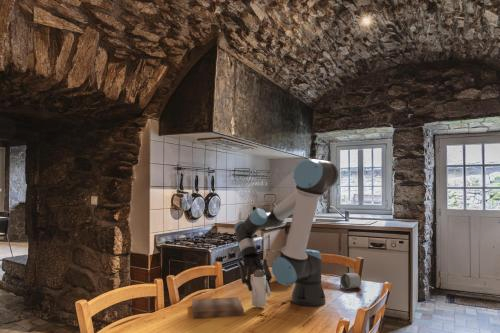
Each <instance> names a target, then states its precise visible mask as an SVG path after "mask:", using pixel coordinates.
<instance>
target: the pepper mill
mask: <svg viewBox="0 0 500 333" xmlns="http://www.w3.org/2000/svg"><path fill="white" fill-rule="evenodd" d="M263 271H264V270H263ZM263 271H262V270H260V269H258V270H256V269H255V271H254V272H253V274H251V282H253V285H254V289H255V292H256V297H255V299H253V297H252V296H251V305H252V306H253V307H256V308H259V307H260V308H261V307H265V306H267V293H266V275H264V273H263Z"/></svg>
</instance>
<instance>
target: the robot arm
mask: <svg viewBox="0 0 500 333" xmlns="http://www.w3.org/2000/svg"><path fill="white" fill-rule="evenodd" d="M338 179H339V171H338V168H337V165H335V164H334V163H333V162H331V161H330V160H322V159H321V160H319V159H313V158H306V159H303V160H301V161H300V162H298V164H297V165H296V166H295V168H294V171H293V180H294V183H295V184H296V185H295V190H294V191H293V192H292V193H291V194H290V195H288V196H287V197H286V198H284V200H282V201H281V202H280V203H279V204H277V205H275V207H273V208H272V209H271V210H270V211H265V210H264V209H263V208H262V209H261V208H255V209H254V210H253V211H251V213H250V214H249V215H248V217H246V218H245V220H239V221H238V222H236V223H235V224H234V227H233V229H234V234H235V237H236V240H237V243H238V247H239V251H240V255H241V258H242V260H239V261H238V263H237V267H238V269H239V273H240V278H241V282H242V284H243V285H244V284H245V285H246V287H247V289H248V291H249V292H250V293H251V298H252V297H253V299H255V297H256V292H255V289H254V285H253V282H252V270H253V269H254V270H255V271H256V270H258V269H260V270H262V271H263V273H264V275H266V297H267V298H270V297H271V295H272V293H271V283H270V282H271V280H272V279H273V276H274V279H275V280H276V281H277V282H278V283H279V284H280V285H282V286H289V285H290V286H292V285H294V287H293V290H292V293H291V301H292V302H293V304H296V305H298V306H302V307H303V306H304V307H319V306H323V305H325V304H326V294H325V292H324V288H323V285H322V261H323V260H322V253H321V252H320V251H319V250H315V249H307V246H308V242H309V237H310V234H311V229H312V226H313V222H314V218H315V213H316V210H317V205H318V201H319V198H321V197H323V195H324V193H326V192H327V191H328V190H330V189H331V188H333V186H335V185H336V183H337V182H338ZM291 215H292V217H291V222H290V226H289V231H288V235H287V239H286V241H285V242H286V243H285V246H283V247H282V248H281V249H280V250H281V252H280V256H279V257H278V258H277V259H275V260H274V259H273V262H272V264H271V270H270V269H269V266H268V263H267V262H268V260H267V259H265V258H264V259H261V258H260V256H259V253H258V250H257V249H258V248H257V245H256V243H255V240H254V237H253V236H254V235H255V234H256V233H257V232H258V231H259V229H267V228H277V227H280V226H282V225H283V223H284V221H285V220H286V219H287V218H288V217H290V216H291ZM244 266H245V267H246V272H245V267H244ZM271 272H272V273H271ZM272 275H273V276H272Z"/></svg>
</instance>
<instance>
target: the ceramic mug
mask: <svg viewBox="0 0 500 333" xmlns="http://www.w3.org/2000/svg"><path fill="white" fill-rule="evenodd" d="M339 284H340V286H342V288H343V289H345V290H348V289H356V288H358V287H360V286H361V284H362V279H361V276H360V275H359V274H358V273H356V272H347V273H346V272H344V273H342V274H341V275H340V280H339Z"/></svg>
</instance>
